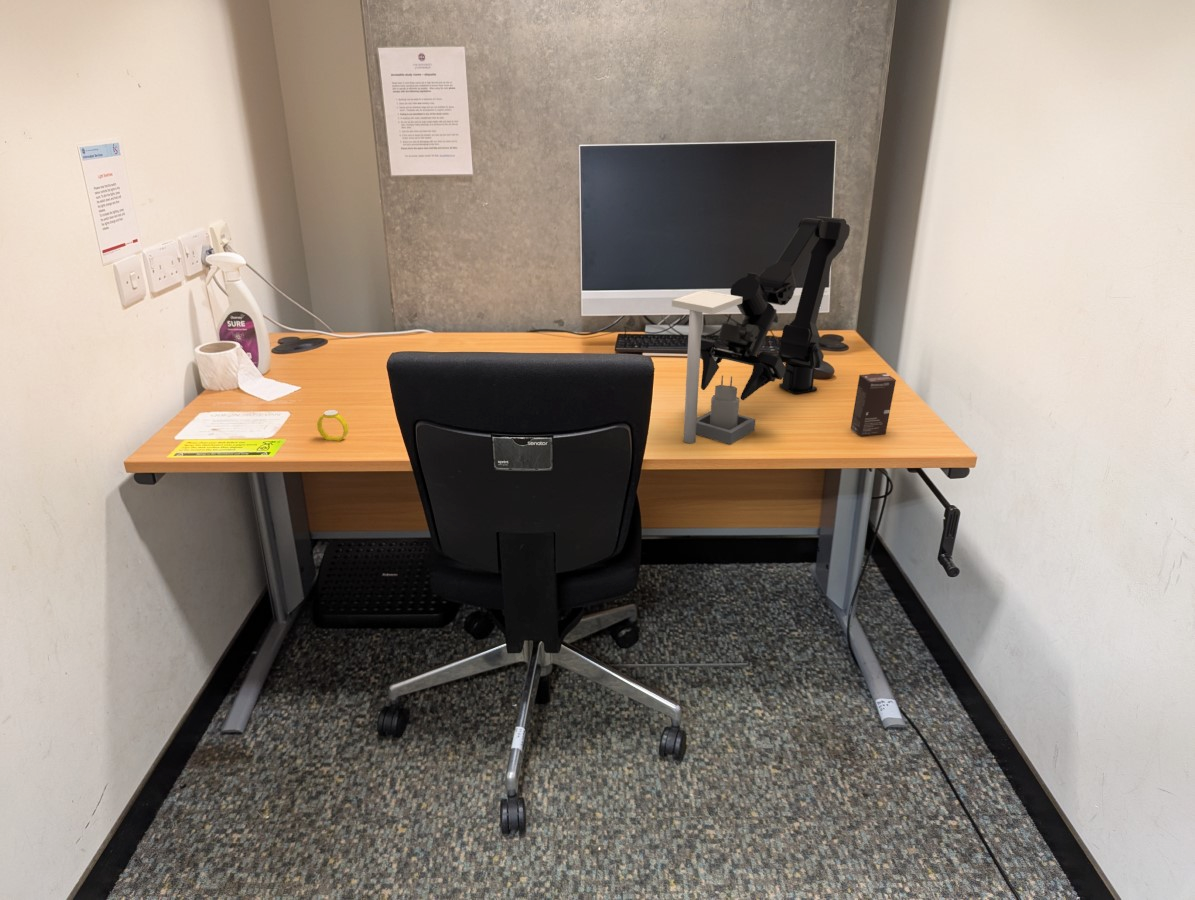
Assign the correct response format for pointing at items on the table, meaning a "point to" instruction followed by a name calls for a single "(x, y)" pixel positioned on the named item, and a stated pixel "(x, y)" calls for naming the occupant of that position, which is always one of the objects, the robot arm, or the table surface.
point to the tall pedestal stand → (692, 424)
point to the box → (872, 404)
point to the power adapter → (724, 406)
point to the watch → (332, 415)
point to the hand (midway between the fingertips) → (721, 394)
